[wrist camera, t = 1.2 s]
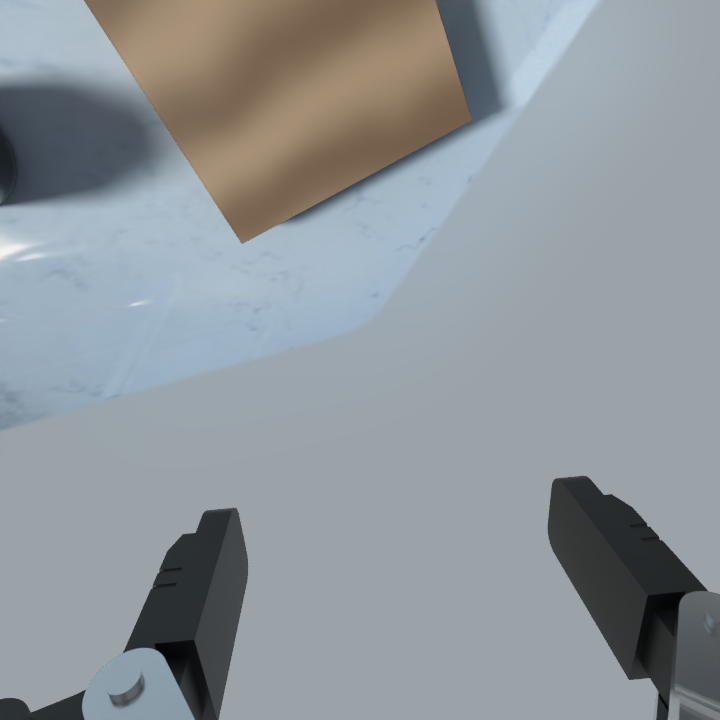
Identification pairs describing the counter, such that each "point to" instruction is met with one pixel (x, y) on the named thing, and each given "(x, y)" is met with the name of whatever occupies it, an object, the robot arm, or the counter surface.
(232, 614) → the robot arm
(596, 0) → the counter surface
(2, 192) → the supplement bottle
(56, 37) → the counter surface
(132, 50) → the walnut block
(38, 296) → the counter surface
